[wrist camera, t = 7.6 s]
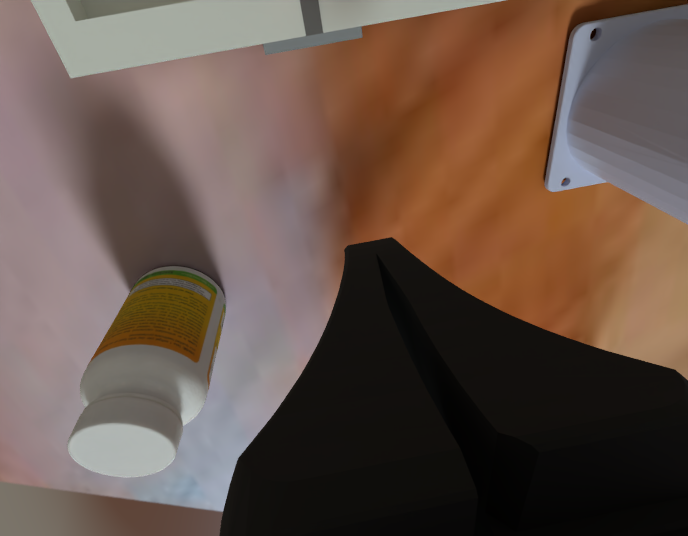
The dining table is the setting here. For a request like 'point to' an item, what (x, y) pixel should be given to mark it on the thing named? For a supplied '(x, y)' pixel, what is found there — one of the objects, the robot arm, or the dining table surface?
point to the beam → (209, 26)
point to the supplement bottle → (149, 374)
